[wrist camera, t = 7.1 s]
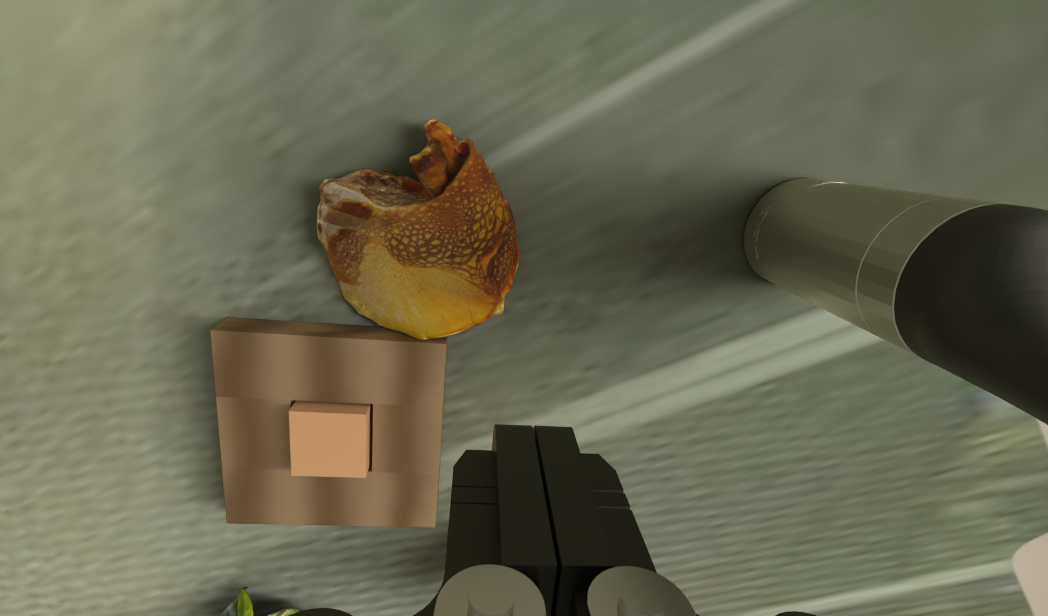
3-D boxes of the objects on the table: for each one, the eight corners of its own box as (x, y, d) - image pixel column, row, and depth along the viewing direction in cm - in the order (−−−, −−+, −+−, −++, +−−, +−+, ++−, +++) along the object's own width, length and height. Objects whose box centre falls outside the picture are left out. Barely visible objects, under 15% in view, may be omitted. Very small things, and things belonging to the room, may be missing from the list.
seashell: (540, 332, 42) (347, 377, 39) (516, 296, 49) (350, 333, 46) (514, 111, 35) (275, 147, 32) (490, 104, 41) (291, 134, 39)
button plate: (447, 331, 46) (446, 344, 43) (437, 505, 51) (435, 527, 48) (227, 317, 44) (210, 330, 41) (241, 500, 49) (226, 523, 46)
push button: (374, 394, 46) (366, 414, 43) (373, 454, 48) (365, 478, 44) (302, 391, 45) (288, 411, 42) (304, 451, 47) (291, 475, 44)
